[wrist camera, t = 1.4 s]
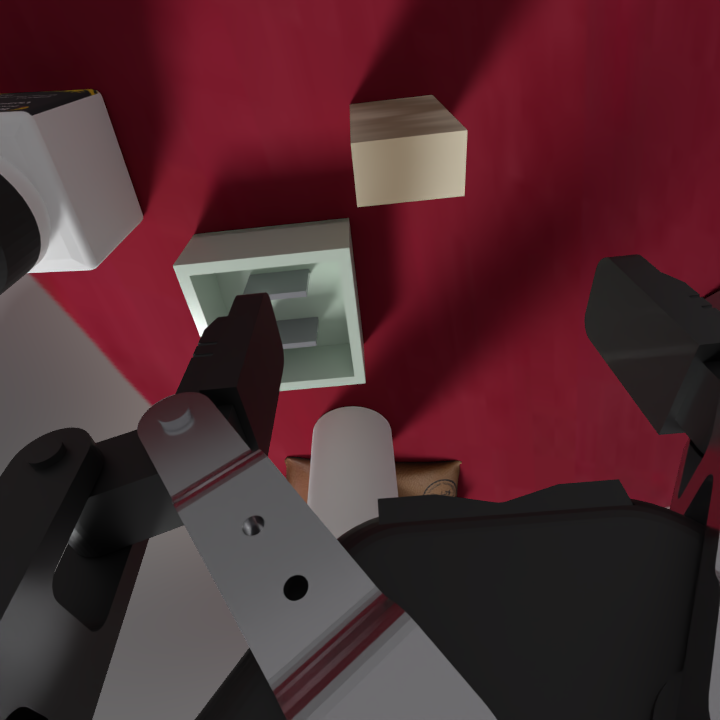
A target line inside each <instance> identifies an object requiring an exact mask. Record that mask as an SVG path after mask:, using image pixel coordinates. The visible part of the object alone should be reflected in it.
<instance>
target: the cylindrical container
mask: <svg viewBox="0 0 720 720" xmlns="http://www.w3.org/2000/svg"><path fill="white" fill-rule="evenodd" d="M394 497H398V489H397V480H396V470H395V461H394V451H393V442H392V432H391V428H390V424H389V423H388V421H387V420H386V419H385V418H384V417H383V416H382V415H381V414H379V413H378V412H376V411H373V410H371V409H368V408H364V407H356V406H351V407H342V408H337V409H335V410H332V411H330V412H328V413H326V414H324V415H323V416H322V417H321V418H320V419H319V420H318V421H317V422H316V424H315V426H314V429H313V438H312V450H311V463H310V476H309V489H308V501H307V504H308V506H309V507H310V508H311V509H312V510H313V512H314V513H315V514H316V515H317V516H318V518H319V519H320V520H321V521H322V522H323V524H324V525H325V526H326V527H327V528H328V530H329V531H330V532H331V533H332V534H333V535H334V537H335V538H336V539H337V538H339V537H340V536H341V535H342V534H344V533H346V532H347V531H349V530H350V529H352V528H354V527H355V526H357V525H359V524H361V523H363V522H366V521H368V520H370V519H373V518H376V517H379V514H378V499H381V498H394Z"/></svg>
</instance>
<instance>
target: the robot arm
mask: <svg viewBox="0 0 720 720" xmlns="http://www.w3.org/2000/svg"><path fill="white" fill-rule="evenodd" d="M585 329H586V333H587V336H588V338H589V339H590V341H591V342H592V344H593V345H594V346H595V348H596V349H597V350H598V352H599V353H600V355H601V356H602V357H603V359H604V360H605V361H606V363H607V364H608V366H609V367H610V368H611V370H612V371H613V372H614V374H615V375H616V376H617V378H618V379H619V381H620V382H621V383H622V385H623V386H624V387H625V389H626V390H627V392H628V393H629V394H630V396H631V397H632V398H633V400H634V401H635V403H636V404H637V405H638V407H639V408H640V409H641V411H642V412H643V414H644V415H645V416H646V418H647V419H648V420H649V422H650V423H651V424H652V426H653V427H654V429H655V430H656V431H657V433H658V434H659V435H661V434H673V433H686V434H687V435H688V437H689V439H688V441H687V443H686V445H685V447H684V449H683V453H682V457H681V462H680V466H679V470H678V475H677V479H676V483H675V488H674V492H673V496H672V501H671V505H670V509H667V508H664V507H661V506H658V505H655V504H652V503H647V502H643V501H639V500H635V499H630V498H629V496H628V495H627V493H626V491H625V489H624V488H623V486H622V484H621V482H620V481H619V479H618V480H606V481H593V482H581V483H568V484H558V485H555V486H552V487H549V488H546V489H543V490H540V491H537V492H534V493H531V494H528V495H525V496H522V497H519V498H516V499H513V500H510V501H507V502H501V503H495V502H488V501H480V500H473V499H466V498H459V497H452V496H445V495H438V494H431V495H419V496H406V497H394V498H381V499H378V514H379V517H376V518H373V519H370V520H368V521H366V522H363V523H361V524H359V525H357V526H355V527H354V528H352V529H350V530H349V531H347V532H346V533H344V534H342V535H341V536H340V537H339V538H337V539H336V538H335V537H334V535H333V534H332V533H331V532H330V531H329V530H328V528H327V527H326V526H325V525H324V524H323V522H322V521H321V520H320V519H319V518H318V516H317V515H316V514H315V513H314V512H313V510H312V509H311V508H310V507H309V506H308V504H307V503H306V502H305V501H304V500H303V499H302V497H301V496H300V495H299V494H298V493H297V491H296V490H295V489H294V488H293V487H292V485H291V484H290V483H289V482H288V481H287V479H286V478H285V477H284V476H283V475H282V473H281V472H280V471H279V470H278V469H277V468H276V466H275V465H274V464H273V463H272V462H271V460H270V459H269V458H268V452H269V446H270V441H271V435H272V429H273V424H274V418H275V413H276V407H277V402H278V396H279V391H280V385H281V380H282V374H283V368H284V351H283V345H282V341H281V337H280V333H279V329H278V326H277V322H276V318H275V314H274V310H273V307H272V303H271V299H270V297H269V295H268V293H267V292H263V293H254V294H244V295H237V296H236V297H235V299H234V301H233V304H232V306H231V309H230V312H229V314H228V316H223V317H217V318H216V319H215V320H214V321H213V322H212V323H211V324H210V325H209V326H208V327H207V328H206V329H205V330H204V331H203V334H202V336H201V338H200V340H199V343H198V346H197V347H196V349H195V352H194V354H193V358H191V360H190V363H189V365H188V367H187V369H186V372H185V374H184V376H183V378H182V380H181V383H180V385H179V387H178V389H177V392H176V394H175V395H172V396H169V397H167V398H165V399H162V400H161V401H159V402H157V403H156V404H154V405H153V406H152V407H150V408H149V409H148V410H147V411H146V412H145V413H144V415H143V416H142V417H141V419H140V421H139V423H138V427H137V430H134V431H132V432H129V433H125V434H122V435H119V436H117V437H113V438H110V439H107V440H104V441H101V442H98V443H95V442H94V441H93V439H92V438H91V436H90V435H89V434H88V433H87V432H86V431H85V430H83V429H80V428H64V429H59V430H56V431H52V432H50V433H47V434H45V435H43V436H41V437H39V438H37V439H35V440H34V441H32V442H31V443H29V444H28V445H27V446H25V447H24V448H23V449H22V450H20V451H19V452H18V453H17V454H16V455H15V457H14V458H13V459H12V460H11V462H10V463H9V465H8V466H7V467H6V469H5V471H4V472H3V473H2V475H1V476H0V720H92V718H93V715H94V712H95V709H96V706H97V703H98V699H99V696H100V693H101V690H102V686H103V683H104V680H105V677H106V674H107V671H108V667H109V664H110V661H111V658H112V655H113V652H114V648H115V645H116V642H117V639H118V636H119V632H120V629H121V626H122V623H123V620H124V617H125V613H126V610H127V607H128V604H129V601H130V597H131V594H132V591H133V588H134V585H135V582H136V578H137V575H138V572H139V569H140V566H141V562H142V559H143V556H144V553H145V550H146V547H147V543H148V540H149V538H151V537H153V536H156V535H159V534H161V533H164V532H167V531H170V530H172V529H175V528H177V527H180V526H183V525H184V526H185V527H186V529H187V531H188V533H189V535H190V537H191V538H192V540H193V542H194V544H195V546H196V548H197V550H198V552H199V554H200V556H201V557H202V559H203V561H204V563H205V565H206V566H207V569H208V570H209V572H210V574H211V576H212V578H213V580H214V582H215V584H216V585H217V587H218V589H219V591H220V593H221V595H222V597H223V599H224V600H225V602H226V604H227V606H228V608H229V610H230V612H231V613H232V615H233V617H234V619H235V621H236V623H237V625H238V627H239V629H240V630H241V632H242V634H243V636H244V638H245V640H246V642H247V644H248V645H249V649H248V650H247V651H246V653H245V654H244V656H243V657H242V658H241V659H240V661H239V662H238V663H237V665H236V666H235V667H234V669H233V670H232V671H231V673H230V674H229V675H228V676H227V678H226V679H225V681H224V682H223V683H222V685H221V686H220V687H219V688H218V690H217V691H216V692H215V694H214V695H213V696H212V698H211V699H210V700H209V702H208V703H207V704H206V706H205V707H204V708H203V710H202V711H201V713H199V715H198V716H197V717H196V719H195V720H720V291H718V292H716V293H715V294H713V295H711V296H709V297H707V298H705V299H704V298H703V297H699V294H698V293H697V292H696V291H694V290H693V289H692V288H691V287H689V286H688V285H687V284H686V283H685V282H682V281H680V280H678V279H676V278H673V277H671V276H669V275H666V274H664V273H661V272H660V271H659V270H657V269H656V268H655V267H654V266H653V265H651V264H650V263H649V262H648V261H647V260H645V259H644V258H643V257H642V256H640V255H626V256H617V257H607V258H603V259H601V260H600V262H599V263H598V265H597V268H596V272H595V276H594V280H593V284H592V288H591V292H590V297H589V301H588V305H587V309H586V313H585ZM67 543H68V545H67ZM66 545H67V547H66ZM65 547H66V549H65ZM64 550H65V552H64ZM63 552H64V554H63ZM62 554H63V556H62ZM61 556H62V558H61ZM60 558H61V560H60ZM59 560H60V562H59ZM58 562H59V564H58ZM57 564H58V567H57ZM56 567H57V569H56ZM55 569H56V571H55ZM54 572H55V573H54Z"/></svg>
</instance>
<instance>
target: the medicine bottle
mask: <svg viewBox="0 0 720 720" xmlns="http://www.w3.org/2000/svg"><path fill="white" fill-rule="evenodd" d="M142 220H143V214H142V211H141V208H140V205H139V202H138V199H137V196H136V193H135V190H134V188H133V185H132V182H131V179H130V176H129V173H128V170H127V167H126V164H125V161H124V159H123V156H122V153H121V150H120V147H119V144H118V141H117V138H116V135H115V132H114V129H113V127H112V124H111V121H110V118H109V115H108V112H107V109H106V106H105V103H104V100H103V97H102V95H101V94H100V93H99V92H98V91H97V90H93V89H85V90H65V91H44V92H24V93H4V94H0V295H1V294H2V293H3V292H4V291H6V290H7V289H8V288H9V287H11V286H12V285H13V284H14V283H15V282H16V281H18V280H19V279H20V278H21V277H22V276H24V275H25V274H26V273H38V272H59V271H81V270H92V269H95V268H97V267H98V266H99V265H100V263H101V262H102V261H103V260H104V259H105V258H106V257H107V256H108V255H109V254H110V253H111V252H112V251H113V250H114V249H115V248H116V247H117V246H118V245H119V244H120V243H121V242H122V241H123V240H124V239H125V238H126V237H127V236H128V235H129V234H130V233H131V232H132V230H133V229H134V228H135V227H136V226H137V225H138V224H139V223H140V222H141V221H142Z"/></svg>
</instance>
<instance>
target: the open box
mask: <svg viewBox="0 0 720 720" xmlns="http://www.w3.org/2000/svg"><path fill="white" fill-rule="evenodd" d="M173 268H174V270H175V273H176V275H177V278H178V281H179V283H180V286H181V288H182V291H183V293H184V296H185V298H186V301H187V304H188V306H189V309H190V311H191V314H192V316H193V319H194V322H195V324H196V327H197V329H198V332H199V334H200V337H201V336H202V334H203V331H204V330H205V329H206V328H207V327H208V326H209V325H210V324H211V323H212V322H213V321H214V320H215V319H216V318H217V317H223V316H228V314H229V312H230V309H231V306H232V304H233V301H234V299H235V297H236V296H237V295H244V294H254V293H263V292H267V293H268V295H269V297H270V299H271V303H272V307H273V310H274V314H275V318H276V322H277V326H278V329H279V333H280V337H281V341H282V345H283V351H284V368H283V374H282V380H281V385H280V391H284V390H296V389H307V388H318V387H329V386H340V385H352V384H363V383H366V380H365V359H364V342H363V334H362V325H361V317H360V308H359V299H358V291H357V282H356V273H355V265H354V256H353V248H352V239H351V230H350V222H349V218H343V219H334V220H324V221H315V222H305V223H296V224H286V225H277V226H268V227H258V228H249V229H239V230H230V231H220V232H211V233H201V234H194V235H193V237H192V238H191V240H190V241H189V243H188V244H187V246H186V247H185V249H184V250H183V252H182V253H181V255H180V256H179V257H178V259H177V260H176V262H175V263H174V265H173Z"/></svg>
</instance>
